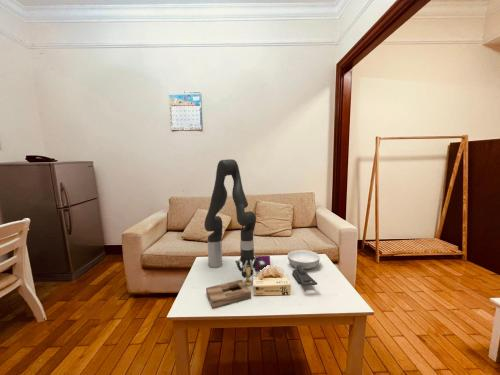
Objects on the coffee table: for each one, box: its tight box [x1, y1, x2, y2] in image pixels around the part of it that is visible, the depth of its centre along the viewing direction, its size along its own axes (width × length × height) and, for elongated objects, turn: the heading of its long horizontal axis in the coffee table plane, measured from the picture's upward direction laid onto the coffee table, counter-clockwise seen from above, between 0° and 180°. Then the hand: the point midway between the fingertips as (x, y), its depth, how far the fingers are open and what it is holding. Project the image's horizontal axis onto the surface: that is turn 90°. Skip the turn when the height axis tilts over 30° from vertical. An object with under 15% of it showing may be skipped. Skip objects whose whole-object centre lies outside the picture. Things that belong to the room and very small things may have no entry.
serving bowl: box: [287, 249, 321, 270], centre depth 156 cm, size 21×21×7 cm
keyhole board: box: [205, 279, 252, 310], centre depth 122 cm, size 13×20×4 cm, turn 114°
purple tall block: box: [254, 255, 271, 271], centre depth 157 cm, size 9×8×18 cm
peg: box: [243, 265, 253, 287], centre depth 134 cm, size 4×4×11 cm
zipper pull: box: [291, 266, 318, 286], centre depth 134 cm, size 9×7×25 cm
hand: (247, 276), depth 134 cm, fingers closed on peg, 3 cm apart
